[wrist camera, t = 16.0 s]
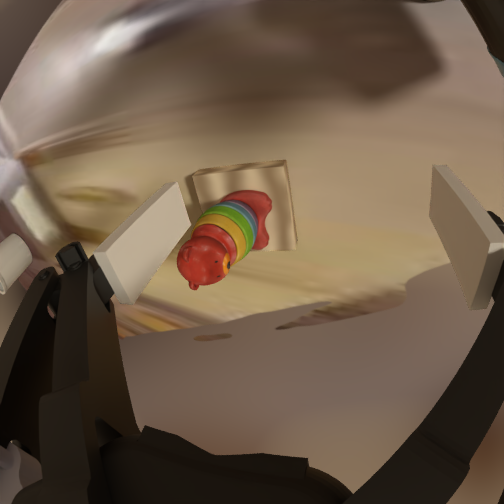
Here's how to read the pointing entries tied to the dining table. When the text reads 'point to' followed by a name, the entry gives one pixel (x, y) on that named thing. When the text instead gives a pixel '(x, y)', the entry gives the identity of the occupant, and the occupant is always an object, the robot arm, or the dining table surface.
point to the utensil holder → (12, 260)
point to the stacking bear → (224, 237)
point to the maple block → (260, 179)
